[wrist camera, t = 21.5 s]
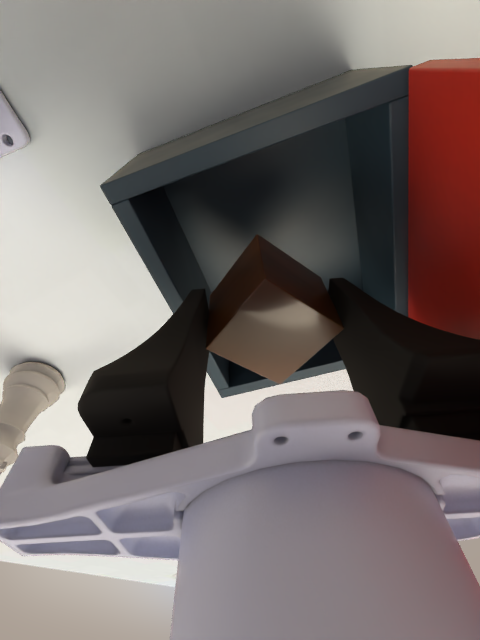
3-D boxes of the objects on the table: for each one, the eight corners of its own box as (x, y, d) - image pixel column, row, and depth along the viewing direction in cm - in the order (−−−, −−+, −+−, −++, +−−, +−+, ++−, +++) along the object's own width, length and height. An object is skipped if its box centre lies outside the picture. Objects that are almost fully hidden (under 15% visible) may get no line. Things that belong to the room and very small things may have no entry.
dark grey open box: (223, 334, 25) (221, 398, 20) (137, 154, 17) (98, 185, 12) (371, 294, 23) (410, 353, 18) (352, 69, 15) (413, 64, 10)
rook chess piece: (52, 356, 26) (-5, 445, 20) (76, 391, 29) (32, 479, 22) (1, 361, 26) (-73, 452, 20) (29, 395, 29) (-27, 485, 22)
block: (270, 329, 17) (280, 385, 14) (209, 295, 16) (204, 349, 13) (321, 277, 15) (345, 328, 12) (257, 233, 14) (265, 278, 11)
